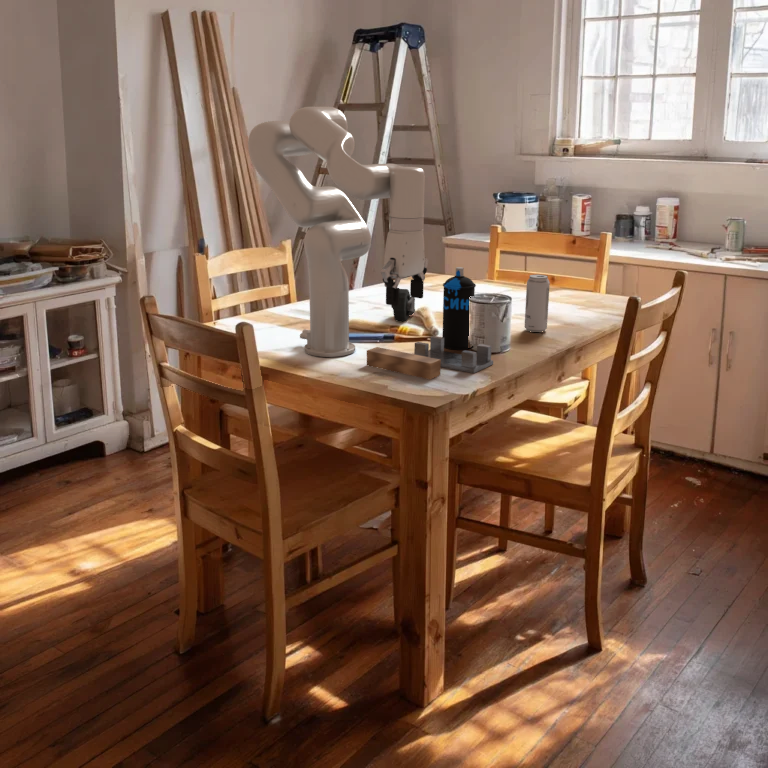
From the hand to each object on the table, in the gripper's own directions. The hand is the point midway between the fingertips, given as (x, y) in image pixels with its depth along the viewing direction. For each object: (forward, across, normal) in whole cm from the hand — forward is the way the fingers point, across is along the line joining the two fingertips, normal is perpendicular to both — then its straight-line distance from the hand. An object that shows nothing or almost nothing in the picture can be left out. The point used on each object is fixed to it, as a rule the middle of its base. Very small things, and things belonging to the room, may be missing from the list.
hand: (404, 301), depth 203 cm
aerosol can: (+16, -26, -1) cm, 31 cm away
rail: (+17, 0, 0) cm, 17 cm away
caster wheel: (+17, -43, -29) cm, 54 cm away
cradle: (+16, -12, +6) cm, 21 cm away
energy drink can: (+16, -52, +8) cm, 55 cm away
